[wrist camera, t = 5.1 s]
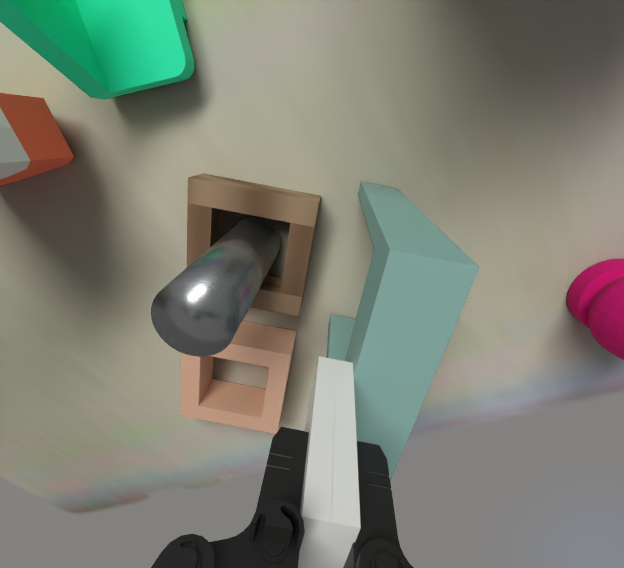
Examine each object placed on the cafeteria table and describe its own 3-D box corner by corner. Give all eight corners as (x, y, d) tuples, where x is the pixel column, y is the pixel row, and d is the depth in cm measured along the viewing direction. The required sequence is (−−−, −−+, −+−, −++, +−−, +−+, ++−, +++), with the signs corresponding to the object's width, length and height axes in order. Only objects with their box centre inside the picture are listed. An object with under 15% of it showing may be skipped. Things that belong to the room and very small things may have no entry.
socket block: (199, 281, 32) (186, 294, 29) (203, 173, 28) (188, 177, 25) (302, 300, 32) (298, 316, 29) (321, 196, 28) (318, 202, 25)
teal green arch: (328, 323, 32) (317, 503, 17) (361, 181, 27) (390, 249, 11) (359, 329, 32) (376, 514, 17) (397, 188, 27) (479, 267, 11)
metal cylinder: (230, 259, 31) (152, 348, 18) (233, 212, 29) (149, 274, 16) (277, 268, 31) (232, 363, 18) (283, 222, 29) (238, 291, 16)
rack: (196, 388, 38) (180, 415, 34) (198, 312, 33) (181, 334, 30) (283, 405, 38) (277, 434, 34) (296, 331, 33) (291, 355, 30)
